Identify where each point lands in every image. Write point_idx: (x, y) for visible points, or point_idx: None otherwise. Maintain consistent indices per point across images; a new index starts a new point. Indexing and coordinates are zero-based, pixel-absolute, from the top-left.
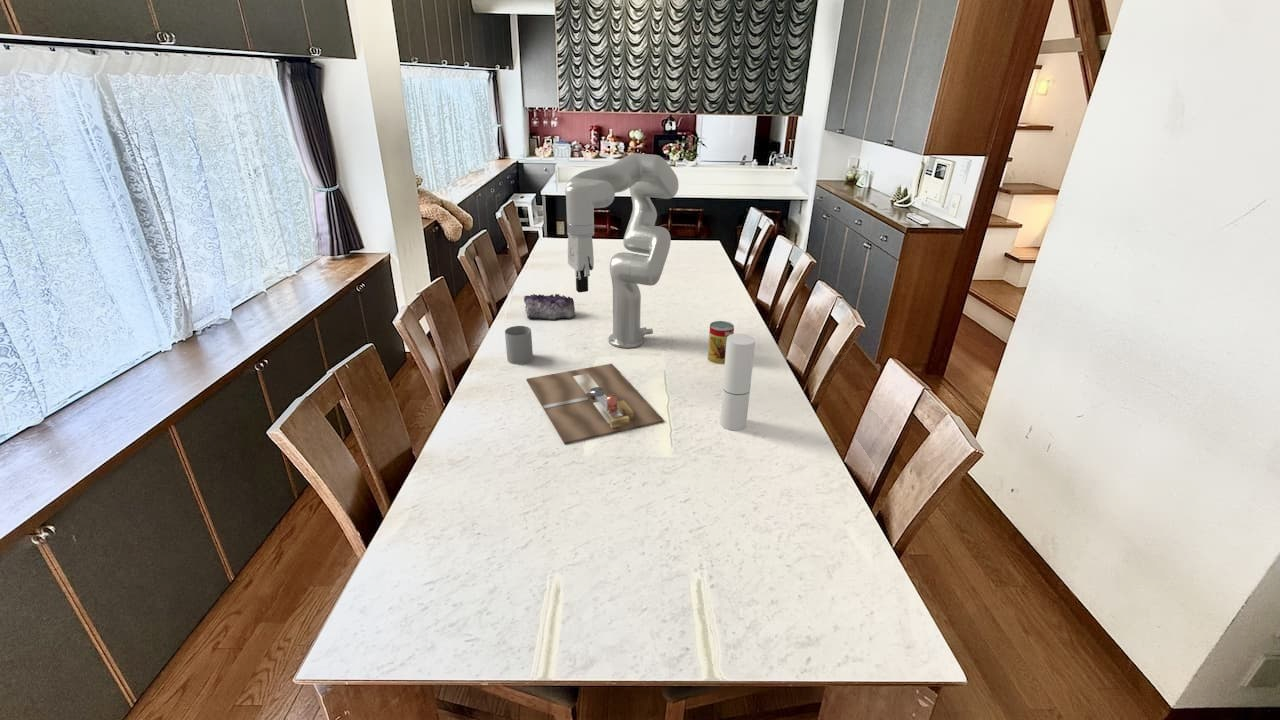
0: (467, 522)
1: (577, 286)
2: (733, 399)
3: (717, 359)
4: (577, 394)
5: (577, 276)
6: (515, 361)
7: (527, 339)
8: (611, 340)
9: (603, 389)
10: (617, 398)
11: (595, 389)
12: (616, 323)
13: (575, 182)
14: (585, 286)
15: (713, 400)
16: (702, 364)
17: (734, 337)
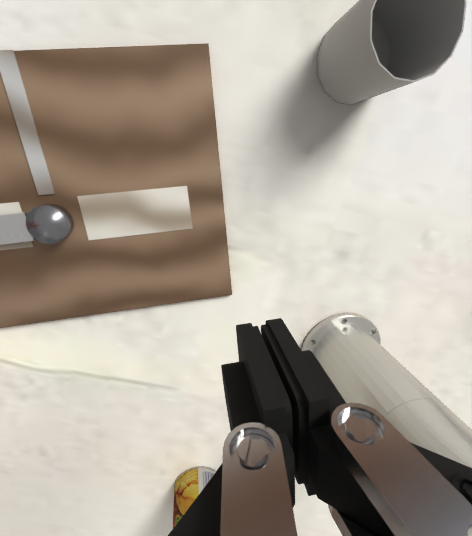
0: None
1: (253, 350)
2: None
3: (177, 485)
4: (77, 173)
5: (332, 430)
6: (327, 34)
7: (361, 61)
8: (346, 320)
9: (51, 242)
10: (39, 267)
11: (53, 221)
12: (359, 357)
13: None
14: (228, 413)
15: (18, 441)
16: (182, 454)
17: None
